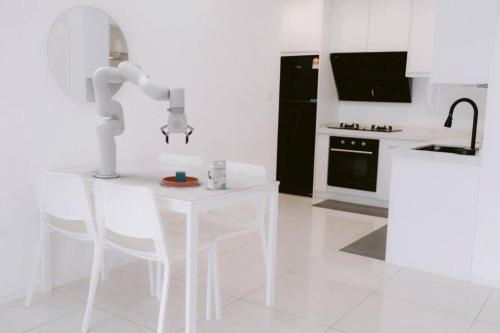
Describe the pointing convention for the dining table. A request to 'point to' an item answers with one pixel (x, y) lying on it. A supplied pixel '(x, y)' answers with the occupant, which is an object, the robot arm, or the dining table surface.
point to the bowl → (172, 182)
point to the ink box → (217, 175)
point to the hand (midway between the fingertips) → (177, 143)
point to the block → (180, 176)
